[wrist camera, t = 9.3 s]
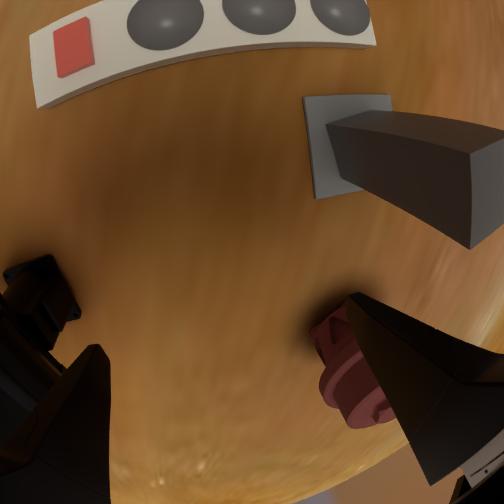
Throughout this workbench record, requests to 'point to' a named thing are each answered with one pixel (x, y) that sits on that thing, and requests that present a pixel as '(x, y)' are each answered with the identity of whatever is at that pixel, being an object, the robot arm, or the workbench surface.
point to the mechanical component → (348, 374)
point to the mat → (320, 147)
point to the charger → (426, 168)
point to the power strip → (180, 37)
